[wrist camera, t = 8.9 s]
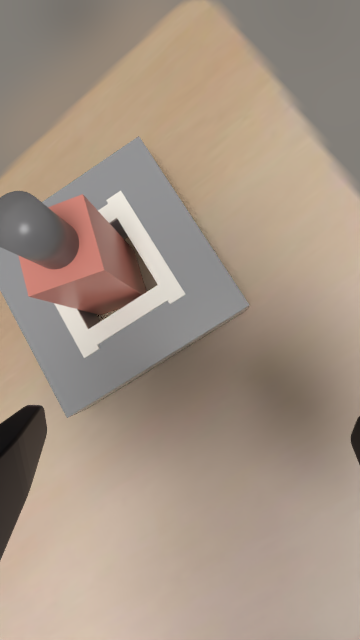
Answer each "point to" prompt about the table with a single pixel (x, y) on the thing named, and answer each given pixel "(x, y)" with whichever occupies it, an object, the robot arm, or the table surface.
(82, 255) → the plug
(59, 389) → the socket plate
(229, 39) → the table surface
